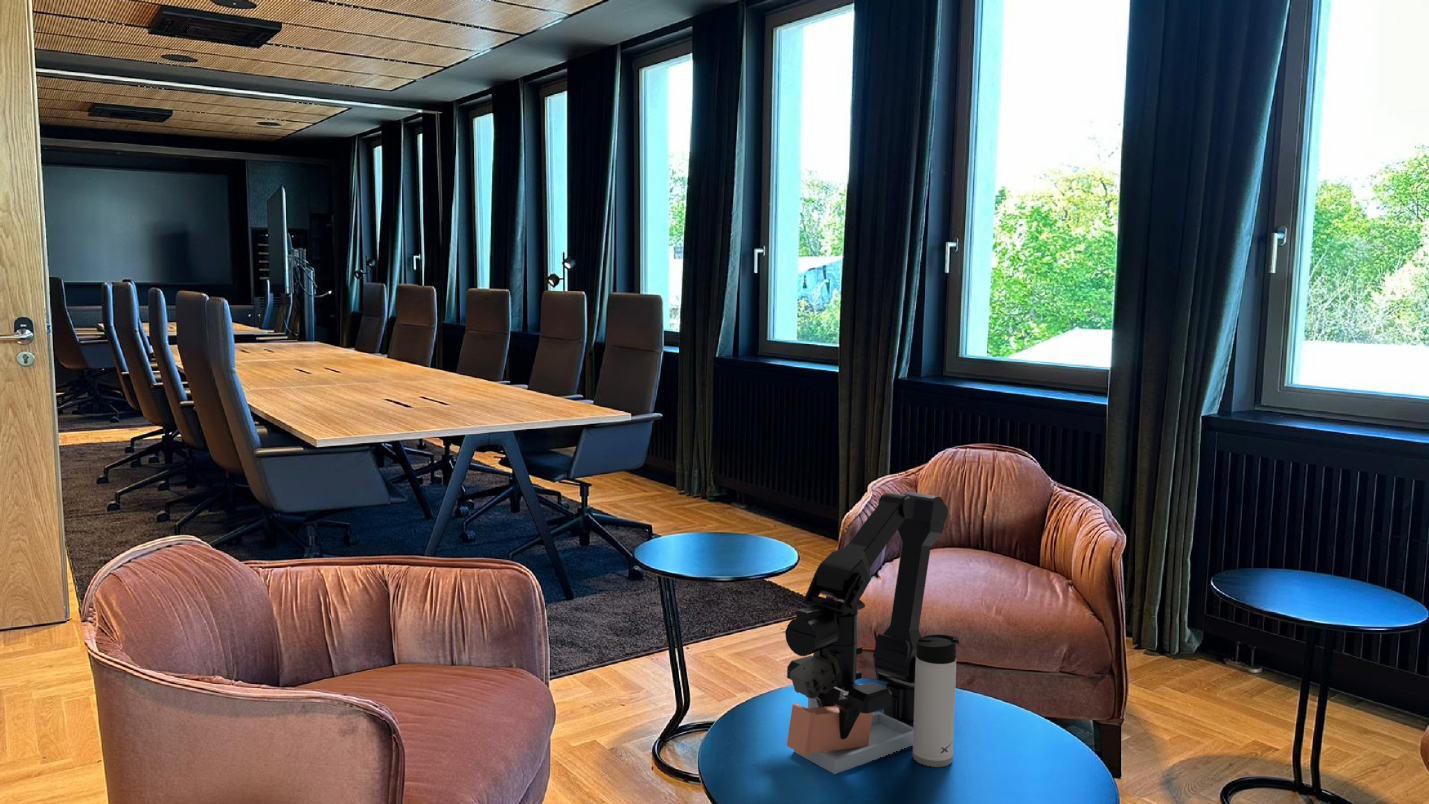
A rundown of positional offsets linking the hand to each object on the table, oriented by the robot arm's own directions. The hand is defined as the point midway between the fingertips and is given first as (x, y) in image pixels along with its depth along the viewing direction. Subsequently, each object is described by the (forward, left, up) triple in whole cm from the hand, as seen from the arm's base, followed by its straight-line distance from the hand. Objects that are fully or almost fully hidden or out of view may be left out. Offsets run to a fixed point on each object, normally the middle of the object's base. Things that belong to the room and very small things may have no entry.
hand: (836, 735), depth 163 cm
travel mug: (-12, +10, -4) cm, 16 cm away
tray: (-5, 0, -3) cm, 6 cm away
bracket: (-9, -12, -3) cm, 15 cm away
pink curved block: (+1, 0, -2) cm, 2 cm away
